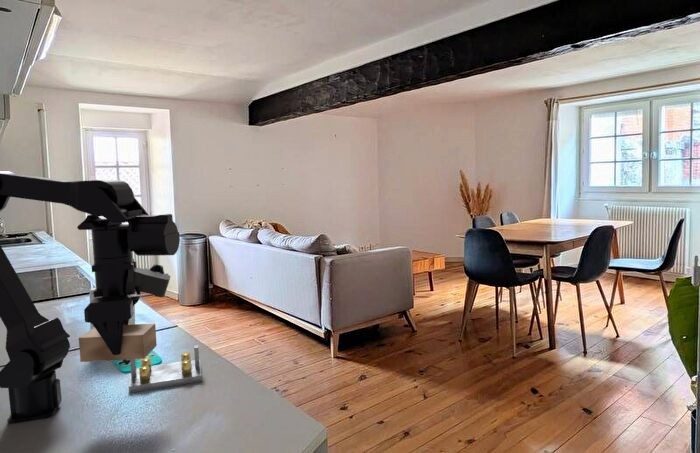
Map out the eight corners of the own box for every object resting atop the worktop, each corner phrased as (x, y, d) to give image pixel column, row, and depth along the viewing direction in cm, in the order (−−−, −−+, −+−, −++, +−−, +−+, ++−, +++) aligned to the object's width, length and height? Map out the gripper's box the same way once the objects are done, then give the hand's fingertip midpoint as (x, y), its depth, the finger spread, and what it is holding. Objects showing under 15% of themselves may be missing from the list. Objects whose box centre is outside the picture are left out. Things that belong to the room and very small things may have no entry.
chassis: (128, 393, 86) (126, 364, 85) (133, 374, 94) (131, 347, 94) (201, 381, 90) (200, 353, 90) (199, 364, 99) (198, 339, 98)
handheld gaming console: (123, 370, 94) (106, 350, 106) (123, 375, 94) (106, 355, 106) (164, 360, 100) (144, 342, 111) (165, 364, 100) (145, 346, 111)
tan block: (80, 361, 74) (78, 337, 74) (97, 348, 80) (95, 326, 80) (144, 358, 75) (142, 334, 75) (156, 345, 81) (155, 323, 80)
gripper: (163, 261, 70) (169, 360, 71) (167, 245, 87) (172, 325, 89) (79, 267, 66) (88, 371, 68) (102, 249, 84) (108, 332, 85)
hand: (119, 347), depth 77 cm, fingers closed on tan block, 7 cm apart
